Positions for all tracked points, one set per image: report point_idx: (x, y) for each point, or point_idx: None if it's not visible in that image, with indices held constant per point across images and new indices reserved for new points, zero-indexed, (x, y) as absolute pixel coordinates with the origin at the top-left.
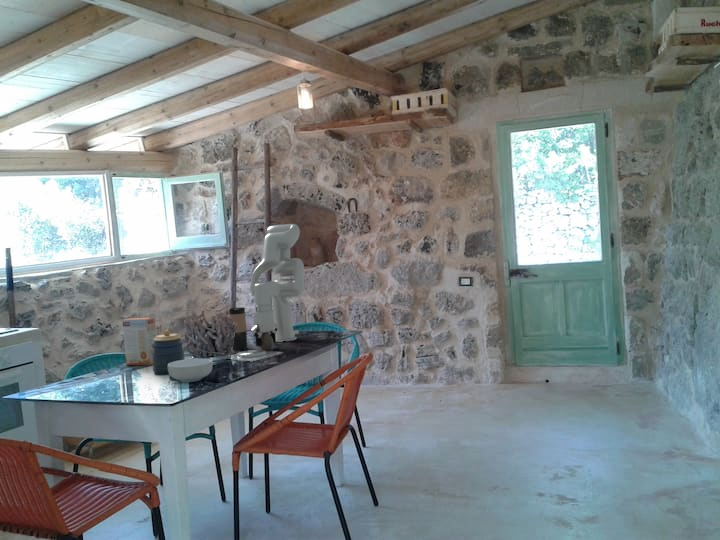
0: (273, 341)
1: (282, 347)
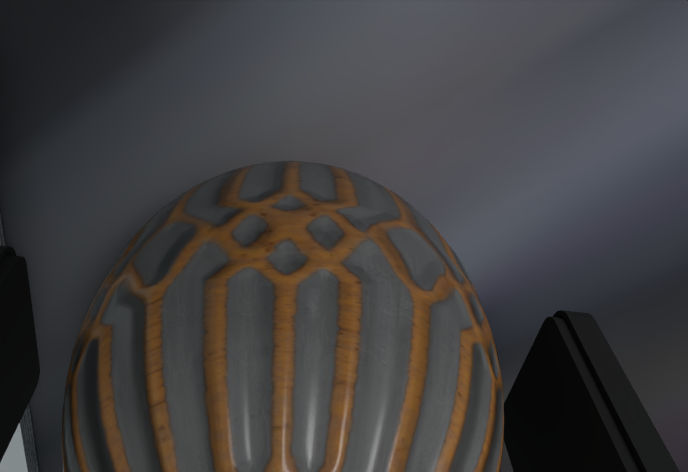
0: (518, 409)
1: None
